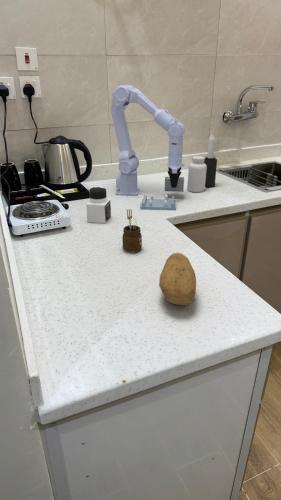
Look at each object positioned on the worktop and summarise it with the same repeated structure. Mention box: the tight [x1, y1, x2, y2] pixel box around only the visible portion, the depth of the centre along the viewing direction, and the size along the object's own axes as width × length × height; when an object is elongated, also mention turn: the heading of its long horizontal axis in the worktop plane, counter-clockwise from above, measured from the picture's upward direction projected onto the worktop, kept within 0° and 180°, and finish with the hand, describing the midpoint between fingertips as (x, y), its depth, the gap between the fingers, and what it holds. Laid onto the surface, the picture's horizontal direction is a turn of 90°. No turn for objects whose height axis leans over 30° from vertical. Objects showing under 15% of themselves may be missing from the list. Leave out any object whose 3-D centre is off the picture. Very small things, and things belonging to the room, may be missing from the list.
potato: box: [158, 252, 197, 306], centre depth 85 cm, size 9×16×9 cm, turn 173°
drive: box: [164, 176, 185, 193], centre depth 152 cm, size 8×4×5 cm, turn 84°
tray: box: [139, 193, 177, 211], centre depth 144 cm, size 14×10×4 cm
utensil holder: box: [121, 208, 143, 254], centre depth 108 cm, size 6×6×12 cm
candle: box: [204, 130, 218, 189], centre depth 163 cm, size 5×5×25 cm
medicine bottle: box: [85, 186, 112, 224], centre depth 129 cm, size 7×7×12 cm
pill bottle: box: [186, 155, 207, 193], centre depth 160 cm, size 8×8×15 cm
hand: (173, 185), depth 152 cm, fingers closed on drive, 4 cm apart
